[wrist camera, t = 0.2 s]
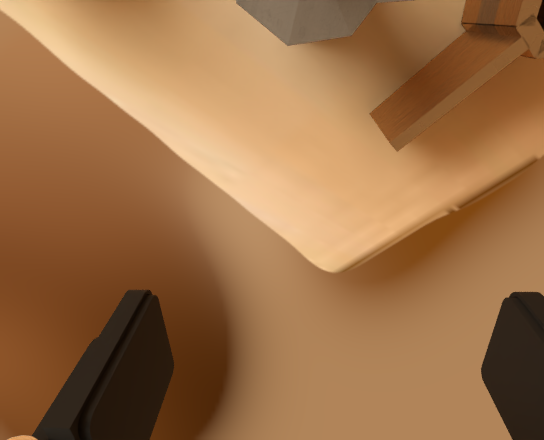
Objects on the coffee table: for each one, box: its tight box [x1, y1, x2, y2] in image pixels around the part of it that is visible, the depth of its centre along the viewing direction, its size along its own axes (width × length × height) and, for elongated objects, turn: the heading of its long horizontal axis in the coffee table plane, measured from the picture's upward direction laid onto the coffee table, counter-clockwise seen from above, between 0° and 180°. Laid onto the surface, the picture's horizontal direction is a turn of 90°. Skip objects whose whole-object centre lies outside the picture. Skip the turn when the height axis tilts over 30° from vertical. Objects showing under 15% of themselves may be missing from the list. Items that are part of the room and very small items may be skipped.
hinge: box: [370, 0, 544, 152], centre depth 28 cm, size 28×7×10 cm, turn 134°
